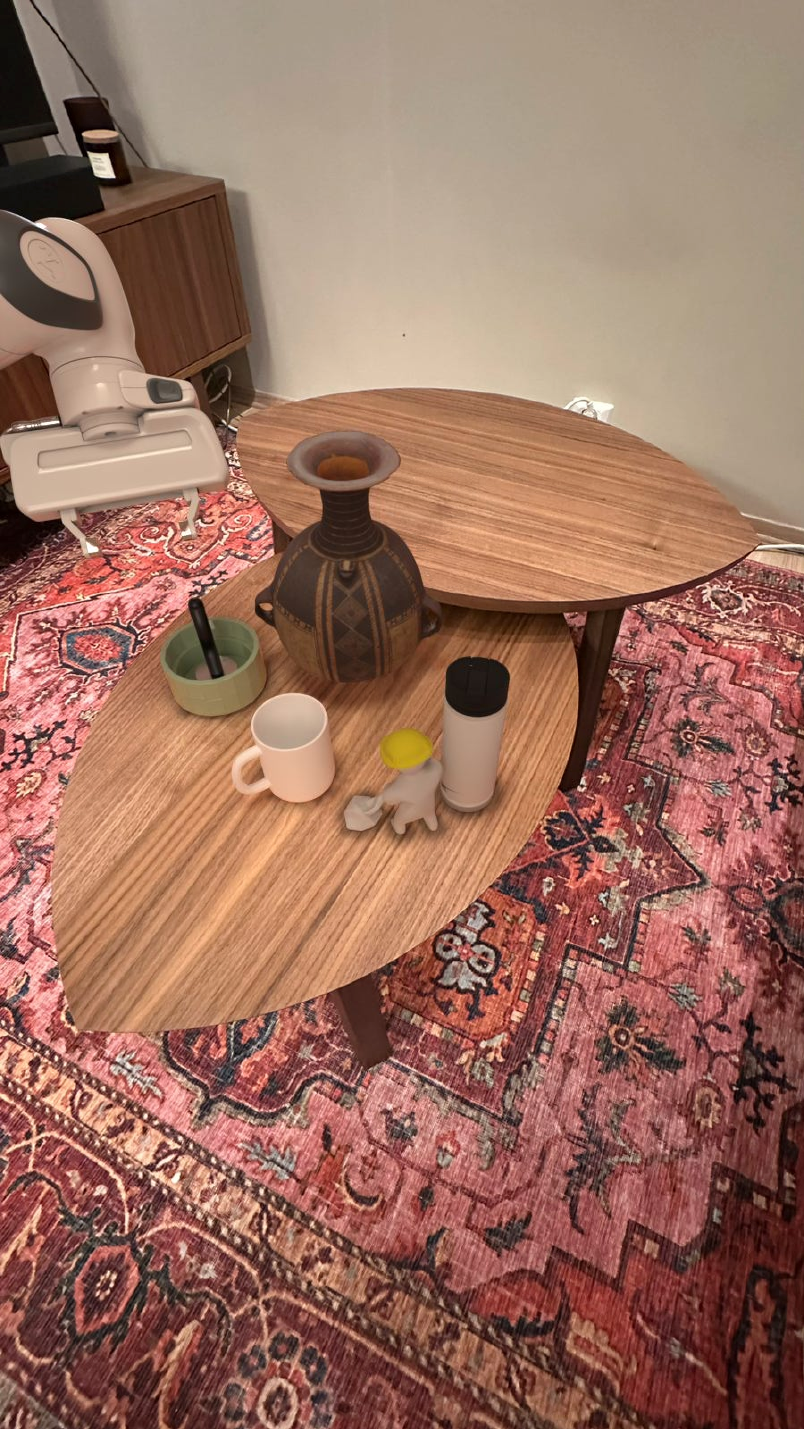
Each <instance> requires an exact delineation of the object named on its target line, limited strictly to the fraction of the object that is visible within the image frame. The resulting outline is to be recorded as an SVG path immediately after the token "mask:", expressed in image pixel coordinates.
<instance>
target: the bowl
mask: <svg viewBox="0 0 804 1429" xmlns="http://www.w3.org/2000/svg"><path fill="white" fill-rule="evenodd" d="M208 621H209V624H210V627H211V630H212V634H213V637H214V640H215V644H216V647H217V650H218V654H219V656H227V657H230V658H232V659H233V660H234V661H235V662H236V663H237V665H238V669H237V670H236V671H234V672H232V673H231V674H229V675H226V676H223V677H220V678H217V679H212V680H204V681H198V680H196V678H195V670H196V668H197V666H198V665H199V664H200V663H201V662H202V661H204V660H205V657H204V654H203V651H202V648H201V645H200V642H199V639H198V636H197V633H196V630H195V626H194V623H193V621H190V622H188V623H186V624H184V625H183V626H181V627H179V628H177V629H176V630H174V632H172V634H170V635H169V636H168V637H167V638H166V639H165V641H164V643H163V645H162V646H161V647H160V648H161V649H160V655H159V663H160V665H161V668H162V670H163V673H164V676H165V678H166V681H167V683H168V686H169V688H170V690H171V693H172V695H173V698H174V701H175V702H176V704H178V705H179V706H180V707H181V708H182V709H183V710H185V711H187V712H189V713H191V714H194V715H197V716H203V717H204V716H205V717H218V716H225V715H230V714H232V713H234V712H237V711H240V710H243V709H244V708H245V707H247V706H248V705H250V704H251V703H253V702H254V701H255V700H256V699H257V698H258V696H259V695H260V694H261V693H262V692H263V691H264V688H265V685H266V682H267V680H268V679H267V678H268V677H267V676H268V675H267V666H266V663H265V659H264V654H263V651H262V647H261V643H260V642H261V641H260V638H259V636H258V634H257V632H256V630H255V629H254V628H253V627H252V626H251V625H249V624H248V623H246V622H245V621H244V620H240V619H237V618H234V617H231V616H230V617H229V616H209V617H208Z"/></svg>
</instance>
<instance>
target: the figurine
mask: <svg viewBox="0 0 804 1429" xmlns="http://www.w3.org/2000/svg"><path fill="white" fill-rule="evenodd" d="M379 751H380V757H381V761H382V763H383V764H384V765H385V766H387V767H388V768H390V769H394V770H397V771H399V774H398V775H397V776H396V777H395V778H394V779H393V780H392V781H391V782H388V783H387V784H385V786H384V788H383V789H382V791H381V793H380V794H379V795H376V796H373V797H371V796H369V795H353V796H352V798H351V800H350V801H349V803H348V804H347V806H346V808H345V809H344V811H343V817H344V821H345V827H346V828H347V830H349V831H358V832H363V831H366V830H368V829H371V828H373V827H375V826H376V825H377V823H378V822H379V820H380V819H381V818H382V816H383V814H384V812H383V810H382V806H383V805H384V804H387V805H388V806H395V805H397V804H399V805H398V807H397V809H396V811H395V813H394V816H393V817H392V818H391V819H390V823H391V825H392V827H393V830H394V831H395V833H396V834H398V835H403V834H405V832H406V828H407V827H406V825H407V824H408V823H412V822H415V821H417V820H421V819H423V821H424V822H425V824H426V826H427V827H428V829H429V830H430V831H431V832H436V831H437V829H438V826H439V823H438V822H439V821H438V819H437V815H436V794H435V792H436V789H437V787H438V786H439V785H440V780H441V777H442V774H443V767H442V765H441V761H439V760H437V759H436V758H431V757H432V754H433V752H434V743H433V741H432V740H431V739H430V737H428V736H427V735H426V734H423V733H422V732H421V731H420V730H418V729H416V728H412V727H404V728H400V729H397V730H395V731H394V732H391V733H389V734H387V735H385V736H384V737H383V738H382V739H381V741H380V744H379Z"/></svg>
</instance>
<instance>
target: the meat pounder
mask: <svg viewBox="0 0 804 1429" xmlns="http://www.w3.org/2000/svg"><path fill="white" fill-rule="evenodd" d="M187 609H188V611H189V614H190V617H191V620H192V622H193V623H194V626H195V630H196V633H197V636H198V639H199V642H200V645H201V648H202V651H203V654H204V657H205V660H204V661H202V662H201V663H200V664H199V665H198V666H197V668H196V670H195V678H196V680H198V681H204V680H212V679H217V678H220V677H223V676H226V675H229V674H231V673H232V672H234V671H236V670H237V669H238V665H237V663H236V662H235V661H234V660H233V659H232V658H230V657H227V656H219V654H218V650H217V647H216V644H215V640H214V637H213V634H212V630H211V627H210V624H209V621H208V618H209V617H208V615H207V614H208V613H207V611H206V607H205V605H204V601H203V600H202V599H201V598H199V597H197V596H193V597H191V598H189V600H188V602H187Z"/></svg>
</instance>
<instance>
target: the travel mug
mask: <svg viewBox="0 0 804 1429" xmlns="http://www.w3.org/2000/svg"><path fill="white" fill-rule="evenodd" d="M444 681H445V682H444V693H443V694H444V695H443V714H442V718H443V719H442V732H441V733H442V736H441V753H440V754H441V757H440V763H441V765H442V767H443V774H442V777H441V780H440V782H439V793H440V797H441V799H442V800H443V801H444V803H445V804H446V805H447V806H448V807H450V808H451V809H453V810H456V811H458V812H461V813H474V812H478V811H481V810H482V809H485V808H486V807H487V806H488V805H489V804H491V802H492V799H493V797H494V793H495V786H496V780H497V773H498V766H499V760H500V759H499V758H500V755H501V754H500V753H501V747H502V746H501V745H502V740H503V733H504V727H505V719H506V713H507V707H508V701H509V689H510V684H511V674H510V671H509V669H508V668H507V667H506V665H504V664H503V663H502V662H501V661H499V660H497V659H494V658H491V657H489V658H487V657H482V656H471V655H468V656H461V657H459V658H456V659H455V660H453V661H452V662H451V663H450V664H449V665H448V666H447V668H446V671H445V680H444Z"/></svg>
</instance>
